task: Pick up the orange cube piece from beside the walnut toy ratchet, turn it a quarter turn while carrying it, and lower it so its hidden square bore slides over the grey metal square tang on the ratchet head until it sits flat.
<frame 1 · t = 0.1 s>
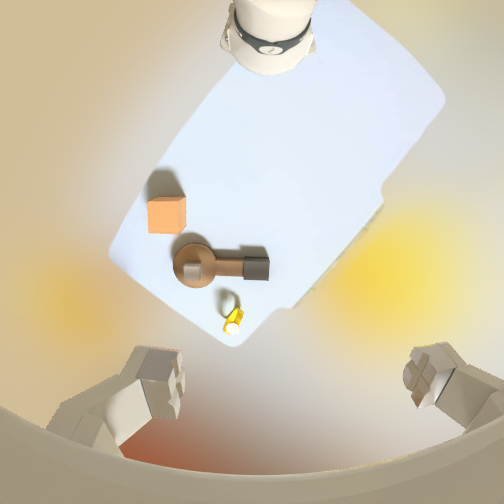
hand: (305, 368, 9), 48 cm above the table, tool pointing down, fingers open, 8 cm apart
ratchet: (196, 263, 59), on the table
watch: (233, 314, 63), on the table
orange cube piece: (171, 211, 55), on the table
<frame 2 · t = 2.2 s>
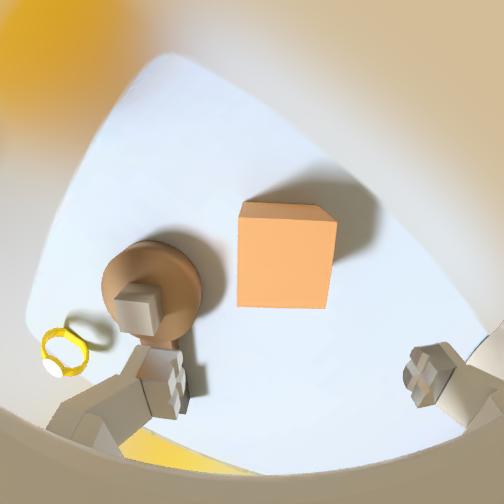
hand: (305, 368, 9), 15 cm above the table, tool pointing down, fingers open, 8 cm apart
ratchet: (155, 287, 25), on the table
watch: (76, 337, 28), on the table
orange cube piece: (278, 239, 23), on the table
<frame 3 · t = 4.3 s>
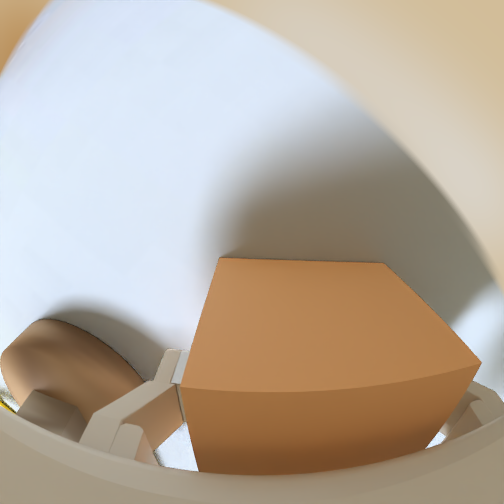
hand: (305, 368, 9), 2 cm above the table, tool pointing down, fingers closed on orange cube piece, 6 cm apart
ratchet: (82, 386, 12), on the table
orange cube piece: (297, 332, 11), on the table, touching gripper
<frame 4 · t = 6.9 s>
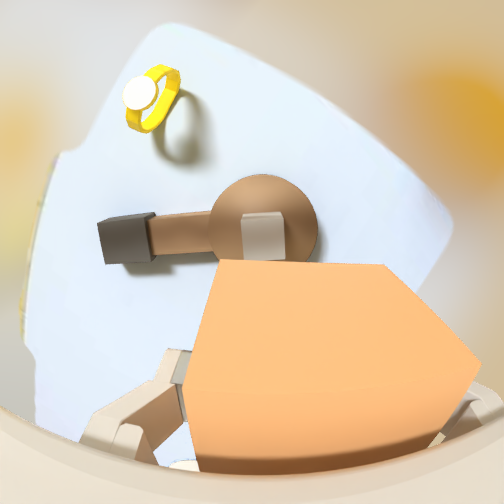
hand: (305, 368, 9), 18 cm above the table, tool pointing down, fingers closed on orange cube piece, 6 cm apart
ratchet: (262, 224, 25), on the table
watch: (165, 105, 22), on the table
orange cube piece: (298, 333, 11), point 16 cm above the table, touching gripper
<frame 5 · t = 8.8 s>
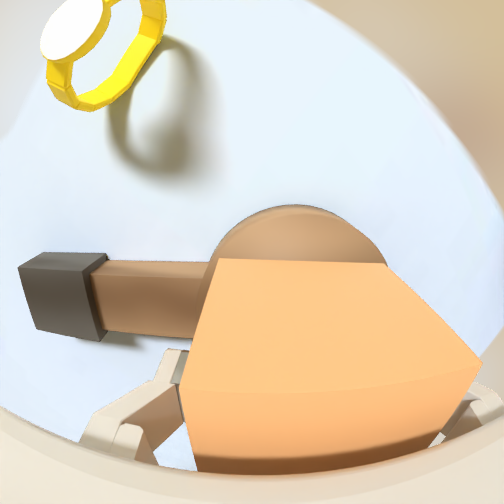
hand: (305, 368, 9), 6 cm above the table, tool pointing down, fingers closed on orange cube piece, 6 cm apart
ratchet: (292, 292, 14), on the table
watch: (136, 63, 11), on the table
orange cube piece: (297, 333, 11), point 4 cm above the table, touching gripper
when the fingers open (6 cm above the table, at t = 10.1 s): orange cube piece stays where it is, resting on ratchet.
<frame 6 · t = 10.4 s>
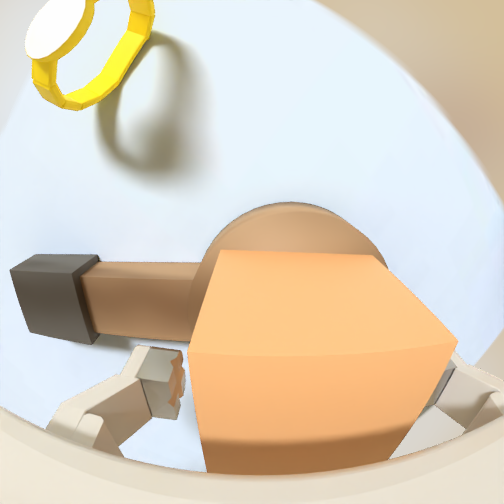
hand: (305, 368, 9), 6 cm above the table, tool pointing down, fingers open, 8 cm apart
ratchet: (288, 292, 14), on the table
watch: (125, 60, 10), on the table
orange cube piece: (293, 320, 12), point 2 cm above the table, touching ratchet
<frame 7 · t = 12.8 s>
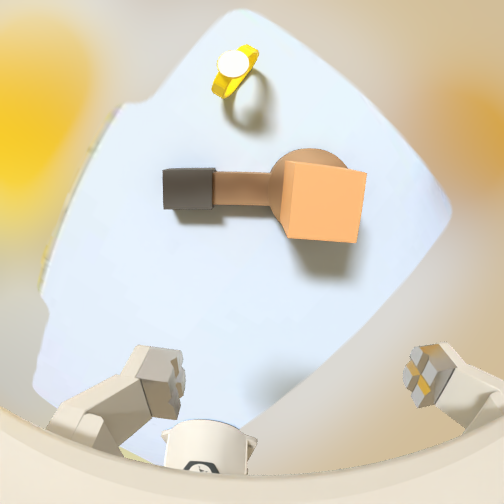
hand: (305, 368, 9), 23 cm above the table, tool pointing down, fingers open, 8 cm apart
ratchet: (307, 189, 30), on the table
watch: (236, 78, 26), on the table
orange cube piece: (312, 193, 27), point 2 cm above the table, touching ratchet
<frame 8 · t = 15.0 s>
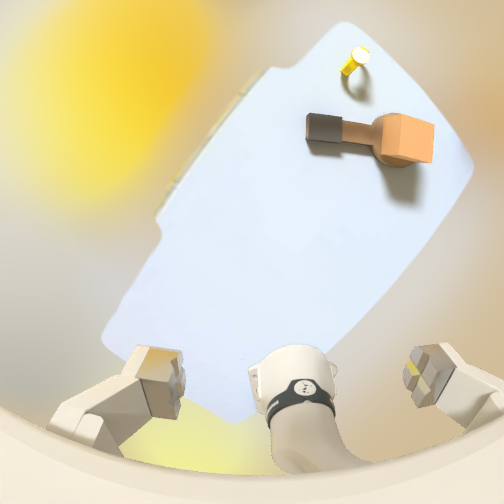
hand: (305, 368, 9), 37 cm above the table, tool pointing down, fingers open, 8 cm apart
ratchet: (391, 140, 40), on the table
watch: (348, 66, 36), on the table
orange cube piece: (398, 140, 38), point 2 cm above the table, touching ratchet
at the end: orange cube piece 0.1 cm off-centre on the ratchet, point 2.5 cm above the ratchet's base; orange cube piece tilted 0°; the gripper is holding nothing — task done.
